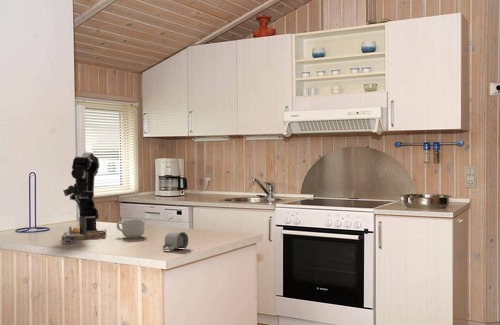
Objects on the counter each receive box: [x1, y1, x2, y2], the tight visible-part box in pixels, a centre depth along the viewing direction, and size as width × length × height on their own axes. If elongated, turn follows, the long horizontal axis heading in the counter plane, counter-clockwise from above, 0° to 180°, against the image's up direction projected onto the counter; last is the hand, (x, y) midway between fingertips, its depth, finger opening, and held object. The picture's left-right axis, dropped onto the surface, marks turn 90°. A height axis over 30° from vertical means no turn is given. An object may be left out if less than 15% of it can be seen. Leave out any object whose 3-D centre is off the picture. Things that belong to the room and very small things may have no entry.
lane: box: [61, 228, 107, 242], centre depth 258 cm, size 20×9×3 cm, turn 102°
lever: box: [62, 216, 86, 237], centre depth 251 cm, size 10×15×9 cm
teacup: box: [116, 219, 145, 240], centre depth 257 cm, size 14×11×8 cm
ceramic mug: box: [162, 231, 190, 251], centre depth 227 cm, size 11×8×8 cm
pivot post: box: [61, 237, 74, 245], centre depth 245 cm, size 5×5×3 cm
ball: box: [72, 227, 80, 234], centre depth 257 cm, size 3×3×3 cm
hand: (81, 213), depth 260 cm, fingers closed
